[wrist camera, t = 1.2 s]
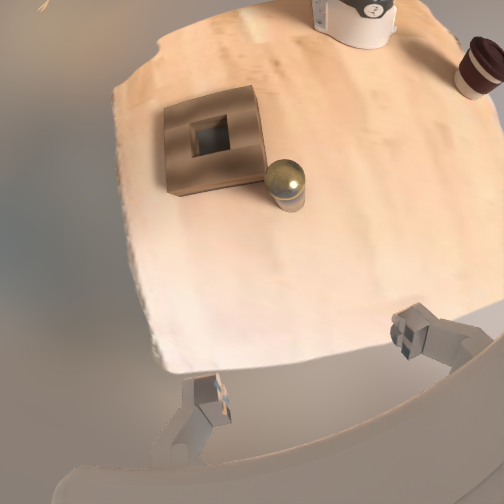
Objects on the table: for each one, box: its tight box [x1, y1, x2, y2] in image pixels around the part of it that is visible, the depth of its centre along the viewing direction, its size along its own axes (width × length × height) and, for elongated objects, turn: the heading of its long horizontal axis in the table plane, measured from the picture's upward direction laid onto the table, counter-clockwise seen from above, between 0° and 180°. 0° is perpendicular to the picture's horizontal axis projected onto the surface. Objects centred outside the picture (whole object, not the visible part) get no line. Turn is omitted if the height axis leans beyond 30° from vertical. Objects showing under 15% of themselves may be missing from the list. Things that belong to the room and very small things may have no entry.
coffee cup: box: [454, 37, 504, 100], centre depth 28 cm, size 10×10×15 cm
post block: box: [164, 85, 268, 197], centre depth 43 cm, size 16×16×5 cm
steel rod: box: [264, 159, 305, 212], centre depth 37 cm, size 5×5×14 cm
